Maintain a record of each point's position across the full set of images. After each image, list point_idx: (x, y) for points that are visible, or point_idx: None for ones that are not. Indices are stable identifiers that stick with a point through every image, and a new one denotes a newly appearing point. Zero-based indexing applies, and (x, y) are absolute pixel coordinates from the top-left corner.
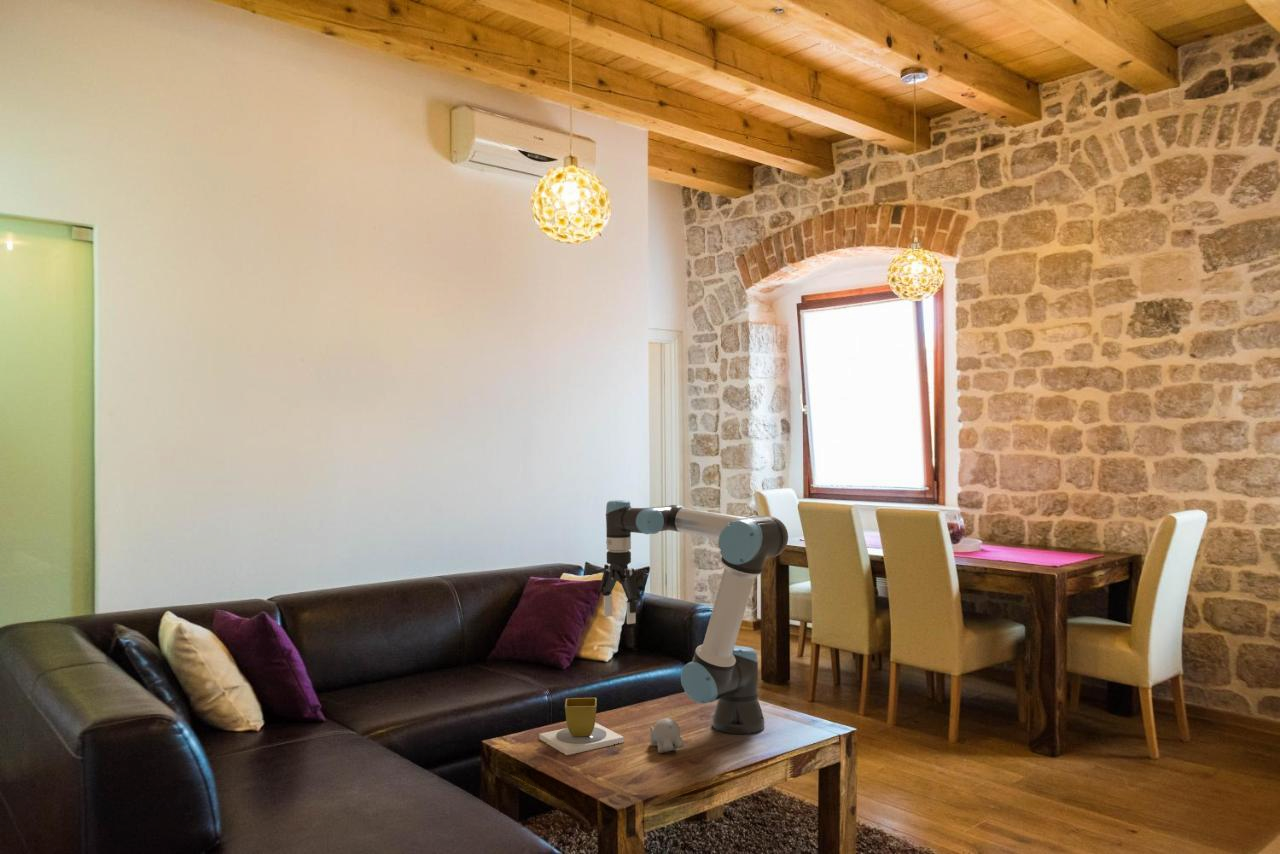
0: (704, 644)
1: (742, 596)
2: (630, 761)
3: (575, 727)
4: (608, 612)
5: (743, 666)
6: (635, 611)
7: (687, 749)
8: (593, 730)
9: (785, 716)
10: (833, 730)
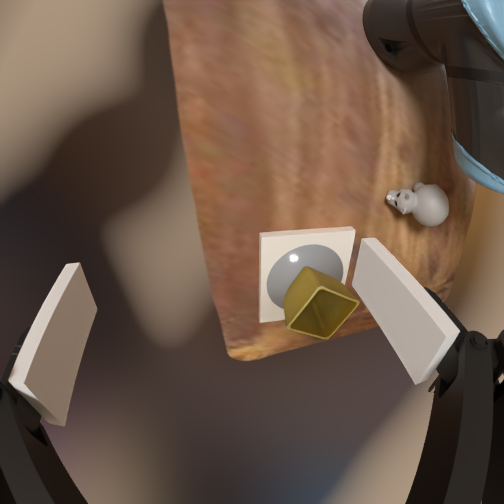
0: None
1: None
2: (402, 251)
3: (323, 304)
4: (82, 306)
5: None
6: (431, 293)
7: (425, 167)
8: (303, 259)
9: None
10: None
